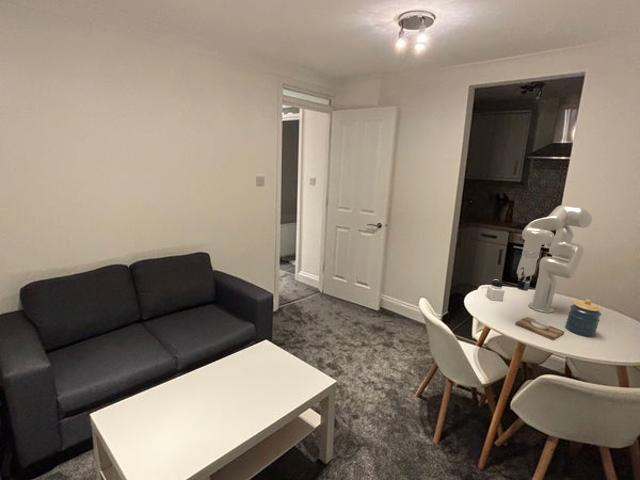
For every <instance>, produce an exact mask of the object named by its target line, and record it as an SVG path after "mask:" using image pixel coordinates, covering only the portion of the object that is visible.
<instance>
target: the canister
mask: <svg viewBox="0 0 640 480" xmlns="http://www.w3.org/2000/svg"><path fill="white" fill-rule="evenodd" d="M569 307H570V310H569V311H568V315H567V318H566V322H565V329H567V330H568V331H569V332H571V333H574V334H576V335H579V336H583V337H588V338H589V337H594V336H596V334H597V329H598V326H599V322H600V317H601V316H602V312H600V311H601V307H599V306H598V305H597V304H596V303H593V302H592V300H591V299H588V298H587V299H585V300H581V299H580V300H575V301H573V304H571V305H570V306H569Z"/></svg>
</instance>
